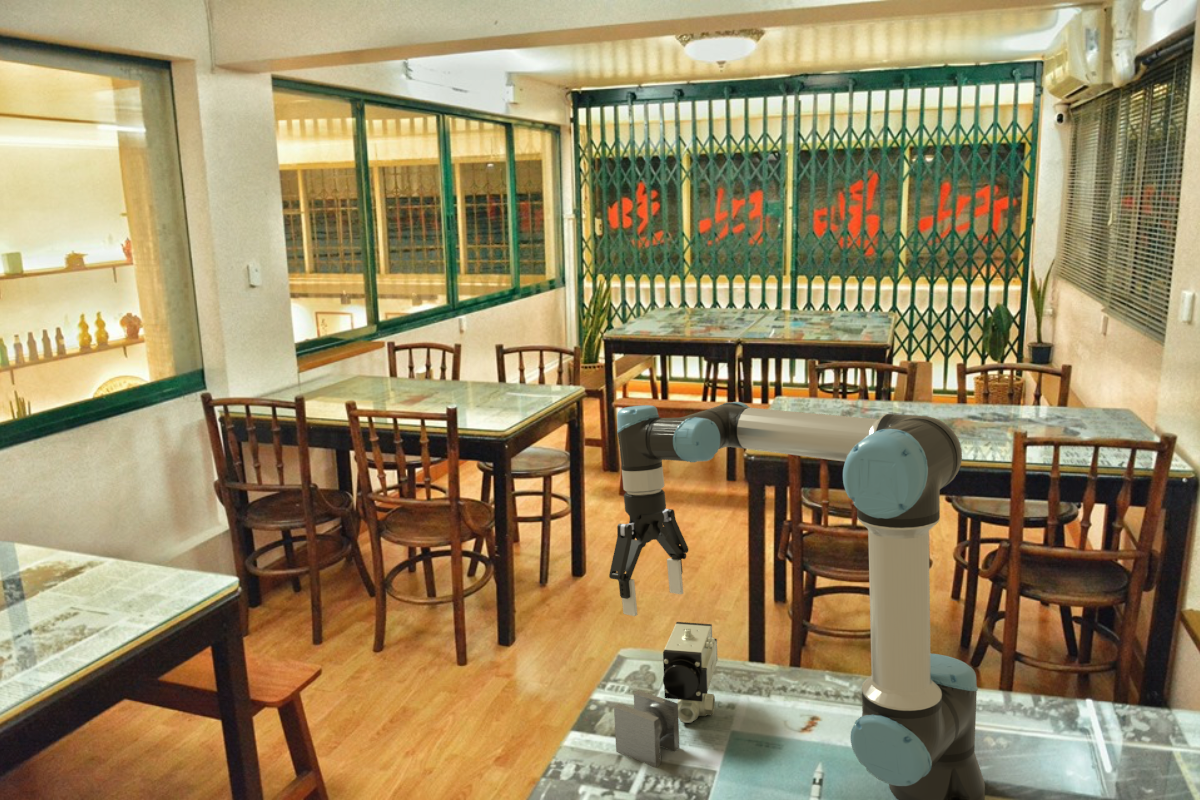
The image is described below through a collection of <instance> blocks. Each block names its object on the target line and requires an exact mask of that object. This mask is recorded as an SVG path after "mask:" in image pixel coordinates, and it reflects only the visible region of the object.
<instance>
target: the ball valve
mask: <svg viewBox="0 0 1200 800" xmlns="http://www.w3.org/2000/svg"><path fill="white" fill-rule="evenodd" d="M675 622H676V623H675V625H674V627H673V629H672V631H671V634H670V636H669V638H668V641H667V642H666V645H665V647H664V649H663V652H662V658H663V659H662V661H663V662H662V663H663V664H662V665H663V677H662V683H663V688H664V699H667V700H668V699H670V700H671V699H672V700H677V703H678V720H679V721H681V722H682V723H685V724H686V723H689V724H691V723H693V721H696V720H697V719H698V717H707V716H713V715H714V713H715V709H716V707H715V706H716V697H715V695H714V693H708V691H709V688H710V686H711V683H712V679H713V675H714V672H715V670H716V667H717V663H718V638H715V637H713V625H712V623H702V622H701V623H700V622H687V621H686V622H683V621H675Z"/></svg>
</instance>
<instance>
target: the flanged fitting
mask: <svg viewBox="0 0 1200 800" xmlns="http://www.w3.org/2000/svg"><path fill="white" fill-rule="evenodd" d="M633 706H634V708H633V707H630V706H628V705H626V704H622V703H617V704H616V705H614V707H613V711H614V712H613V713H614V732H615V733H614V734H615V735H614V736H615V752H616V753H619V754H622V755H623V756H627V757H629V758H630V759H631V758H632V759H633V760H636V761H639V762H641V763H644V764H646V765H648V766H651V767H653V768H658V766H660V765H661V763H662V762H661V748H663V749H666V750H669V751H671V752H674V753H675V752H677V751H678V750H679V749H680V734H679V733H680V730H679V729H680V728H679V727H680V724H679V718H678V702H674V701H671V700H668V699H667V698H662V697H660V696H658V695H654V694H651V693H649V692H646V691H642V690H640V689H638V690H636V691H635V692H633Z"/></svg>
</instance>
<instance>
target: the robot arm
mask: <svg viewBox="0 0 1200 800" xmlns="http://www.w3.org/2000/svg"><path fill="white" fill-rule="evenodd" d="M658 412H659V411H658V408H657V407H656V406H654V405H645V404H644V405H643V404H642V405H633V406H627V407H623V408H621V409H620V410H618V412H617V414H616V418H617V419H616V420H617V421H616V422H617V425H616V426H617V431H616V432H617V433H616V434H617V438H618V439H617V440H618V446H619V455H620V457H619V458H620V466H621V476H622V488H623V491H625V493H624V494H623V502H624V510H625V512H626V514H627V515H628V516H629V521H628V522H629V523H618V524H617V527H616V529H617V538H616V542H615V547H614V552H613V556H612V561H611V565H610V570H609V575H608V576H609V579H612V580H617V581H618V588H619V596H620V598H621V602H622V613H623V615H627V616H632V617H637V616H638V606H637V595H636V583H635V579H632V576H633V574H634V571H635V569H636V565H637V563H638V560H639V558H640V555H641V552H642V550H643V548H644V547H646V546H647V544H648V543H650V542H652V541H653V540H655V541H657V543H658V544H659V545H660V546H661V548H662V549H663V550H664V551H665V552H666V554H667V555H668V556H669V558H667V559H666V566H667V577H668V587H669V593H671V594H676V595H683V594H684V586H683V585H684V584H683V565H682V564H683V561H682V560H686V558H687V554H688V553H689V546H688V544H687V541H686V540H685V537H684V536H683V533H682V531H681V528H680V527H679V524H678V522H677V519H676V515H675V510H674V509H672V508H671V509H670V508H667V504H666V502H667V501H666V492H665V491H664V489H663V488H664V487H665V479H664V477H665V476H664V469H663V468H664V467H663V461H675V462H677V461H678V462H689V463H697V462H708V461H711V460H712V459H713V458H715V455H716V454H718V452H719V450H721V449H724V448H730V447H731V448H734V449H735V448H736V449H737V448H738V449H742V450H743V449H746V450H747V449H748V450H753V451H762V452H768V453H777V454H785V455H792V456H798V457H799V456H800V457H809V458H814V459H815V458H816V459H821V460H822V459H824V460H831V461H839V462H844V465H843V467H842V468H843V469H842V481H843V482H842V483H843V487H844V490H845V493H846V494H847V495H846V496H847V498H848V499H850V500H851V501H852V502H853V505H854V507H855V508H856V513H857V516H856V518H857V521H858V522H859V523H861V524H862V525H863V526H864V527H865V528H866V529H867V531H868V532H867V534H868V536H867V537H868V538H867V539H868V569H869V570H868V572H869V573H868V577H869V578H868V579H869V580H868V582H869V616H870V617H869V618H870V620H869V622H870V624H869V625H870V626H869V627H870V659H871V660H870V664H871V666H870V667H871V668H870V669H871V675H870V676H869V677H867V678H866V679H865V680H864V681H863V683H862V685H861V702H862V703H861V709H862V711H861V712H862V713H861V716H860V717H858V719H856V720H855V722H854V725H852V728H851V731H850V736H849V737H850V744H851V747H852V748H851V749H852V751H853V753H854V756H855V757H856V758H857V760H858V762H859V763H860V765H862V766H864V767H865V768H866V771H867V772H868V773H869V774H871V775H872V776H873V777H874V778H876V779H877V780H880V781H881V782H883V783H885V784H888V787H889V789H890V792H891V793H892V795H893V796H894V797H895V798H896V800H986V799H985V797H986V795H985V794H986V784H985V780H984V776H983V773H982V771H981V767H980V764H979V762H978V758H977V756H976V753H975V748H976V747H975V741H976V719H977V713H976V712H977V695H978V694H977V693H978V691H979V688H978V686H977V674H976V672H975V670H974V669H973V668H972V667H971V666H970V665H969V664H967V663H966V662H964V661H962V660H960V659H957V658H955V657H952V656H948V655H943V654H938V653H931V603H930V602H931V601H930V597H931V595H930V530H931V529H933V527H935V526H936V525H937V524H939V522H940V518H941V514H940V513H941V512H940V509H941V508H940V507H941V505H940V503H941V502H940V497H941V496H940V492H941V491H940V490H941V489H943V488H945V487H946V486H947V485H949V484H950V483H951V482H952V481H954V479H955V478H956V475H958V473H959V470H960V468H961V466H962V460H963V449H962V445H961V443H960V440H959V437H958V436H957V435H956V433H955V431H954V430H953V429H952V428H951V427H950V426H949V425H948V424H947V423H945V422H944V421H941V420H940V419H937V418H935V417H932V416H928V415H916V414H915V415H913V414H896V413H884V414H883V415H881V417H879V418H870V417H859V416H857V417H856V416H848V415H847V416H845V415H835V414H825V413H823V414H822V413H813V412H812V413H811V412H801V411H792V410H791V411H790V410H780V409H779V410H778V409H770V408H769V409H768V408H758V407H757V408H756V407H754V408H753V407H750V406H748V405H747V404H746V403H744V402H741V401H733V402H725V403H723V404H722V403H721V404H720V405H717V406H715V407H711V408H708V409H705V410H701V411H699V412H695V413H691V414H688V415H685V416H681V417H660V415H659V413H658Z"/></svg>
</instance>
